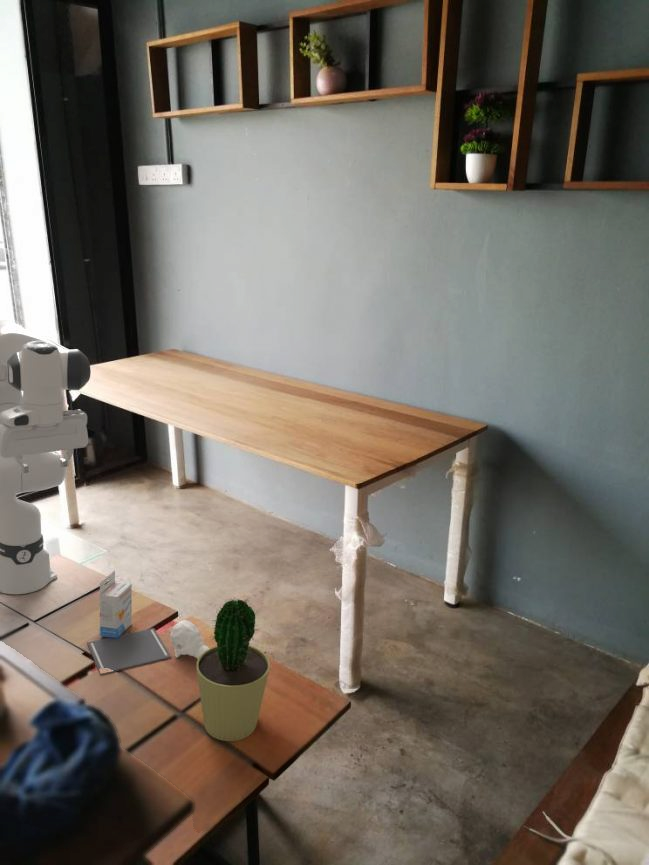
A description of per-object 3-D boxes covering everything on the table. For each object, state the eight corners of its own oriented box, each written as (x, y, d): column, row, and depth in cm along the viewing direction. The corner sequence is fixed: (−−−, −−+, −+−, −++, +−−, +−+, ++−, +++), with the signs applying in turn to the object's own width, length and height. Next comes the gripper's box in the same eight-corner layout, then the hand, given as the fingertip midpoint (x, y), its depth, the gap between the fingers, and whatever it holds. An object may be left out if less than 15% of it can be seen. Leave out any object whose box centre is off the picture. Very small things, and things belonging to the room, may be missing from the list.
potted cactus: (227, 760, 139) (234, 628, 131) (179, 722, 148) (182, 597, 140) (281, 723, 150) (290, 600, 142) (233, 691, 160) (238, 574, 152)
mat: (87, 643, 173) (87, 642, 173) (154, 629, 182) (154, 627, 182) (100, 674, 162) (100, 673, 161) (171, 657, 170) (171, 656, 170)
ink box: (118, 639, 175) (117, 585, 172) (99, 636, 176) (98, 583, 172) (132, 623, 183) (132, 571, 180) (115, 621, 184) (114, 569, 181)
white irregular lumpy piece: (187, 613, 174) (222, 635, 168) (184, 641, 177) (218, 664, 171) (168, 622, 169) (203, 646, 163) (165, 651, 172) (199, 675, 166)
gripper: (81, 405, 169) (82, 459, 172) (-8, 414, 155) (-5, 472, 159) (92, 411, 164) (92, 466, 168) (1, 420, 151) (4, 480, 155)
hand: (44, 469), depth 163 cm, fingers open, 8 cm apart
